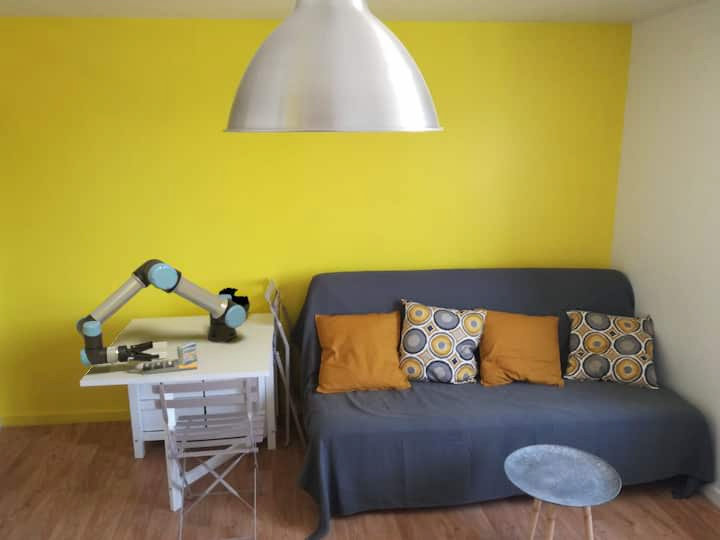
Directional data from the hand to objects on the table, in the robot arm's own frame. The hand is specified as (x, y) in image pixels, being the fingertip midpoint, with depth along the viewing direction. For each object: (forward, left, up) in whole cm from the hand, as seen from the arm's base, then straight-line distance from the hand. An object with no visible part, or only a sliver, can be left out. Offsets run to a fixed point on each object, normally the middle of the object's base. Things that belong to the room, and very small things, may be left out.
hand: (167, 349), depth 283 cm
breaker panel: (-1, 0, -9) cm, 9 cm away
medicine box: (-9, 0, -8) cm, 11 cm away
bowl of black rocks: (-35, -62, -9) cm, 72 cm away
